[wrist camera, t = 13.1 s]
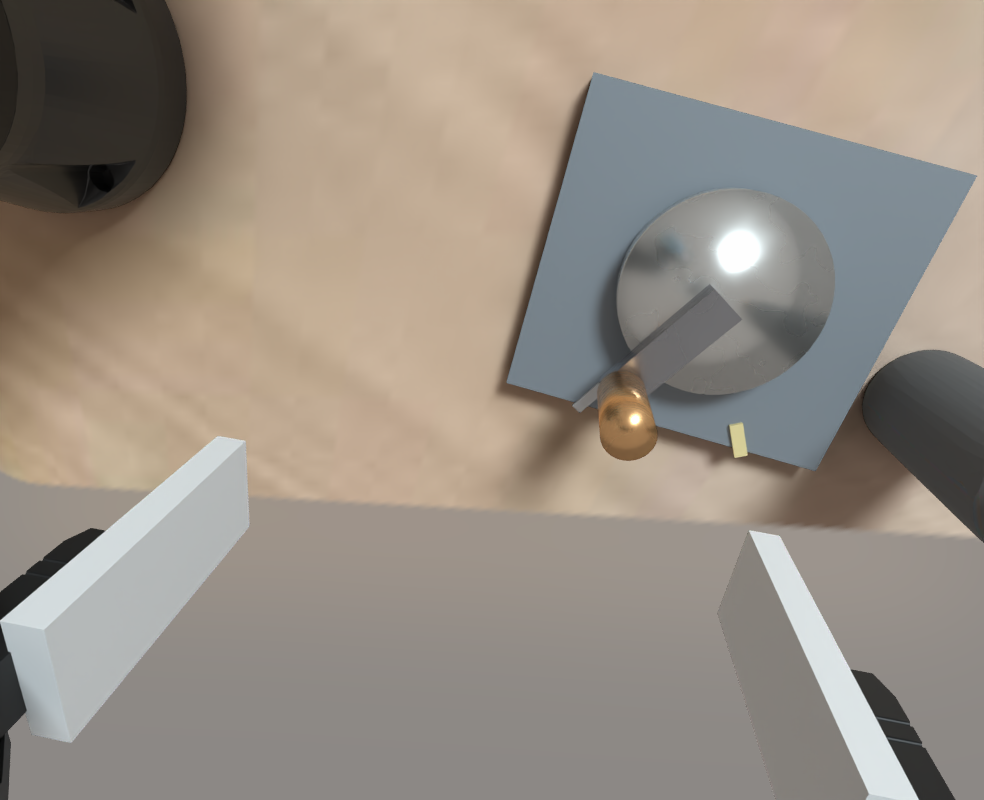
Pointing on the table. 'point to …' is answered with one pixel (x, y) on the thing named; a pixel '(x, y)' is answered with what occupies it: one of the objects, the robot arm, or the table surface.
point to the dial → (712, 305)
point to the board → (722, 164)
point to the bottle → (934, 426)
